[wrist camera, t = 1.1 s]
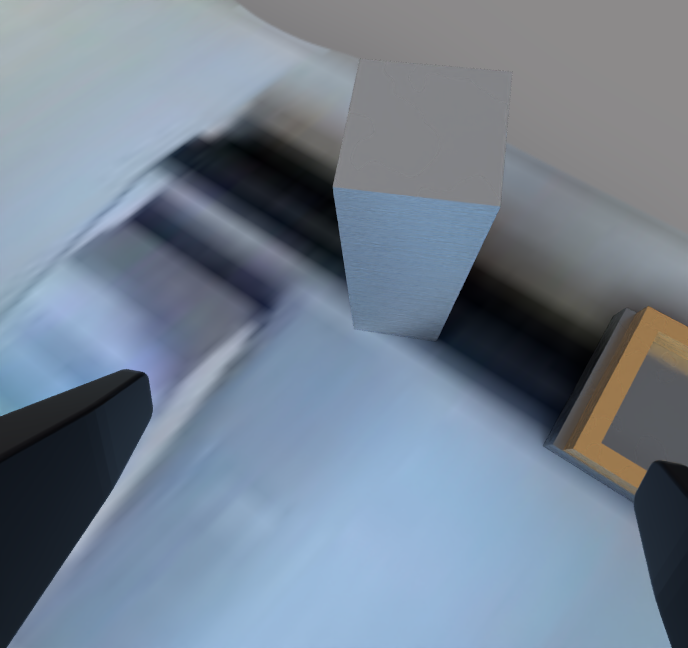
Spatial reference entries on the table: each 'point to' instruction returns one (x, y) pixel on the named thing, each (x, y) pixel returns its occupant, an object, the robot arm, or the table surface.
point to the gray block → (417, 189)
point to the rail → (628, 402)
